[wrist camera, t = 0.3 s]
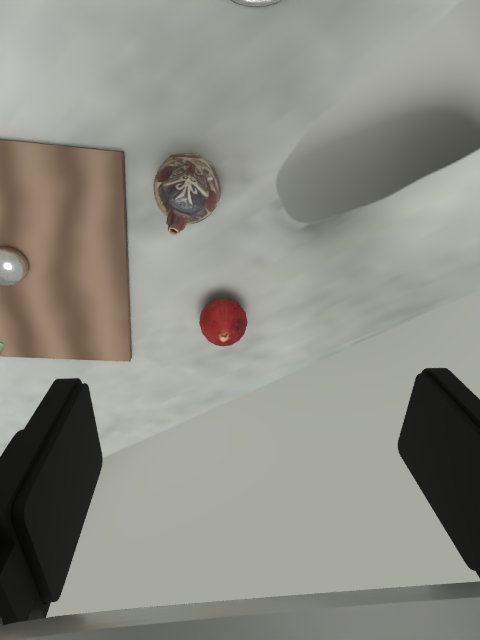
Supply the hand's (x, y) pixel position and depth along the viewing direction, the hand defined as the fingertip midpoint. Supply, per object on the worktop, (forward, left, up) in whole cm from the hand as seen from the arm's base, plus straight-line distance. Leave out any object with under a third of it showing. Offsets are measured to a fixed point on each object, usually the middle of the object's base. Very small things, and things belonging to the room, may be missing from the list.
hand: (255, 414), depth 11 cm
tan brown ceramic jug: (-1, -4, -36) cm, 37 cm away
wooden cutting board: (+9, -24, -36) cm, 44 cm away
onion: (+14, +1, -36) cm, 39 cm away
